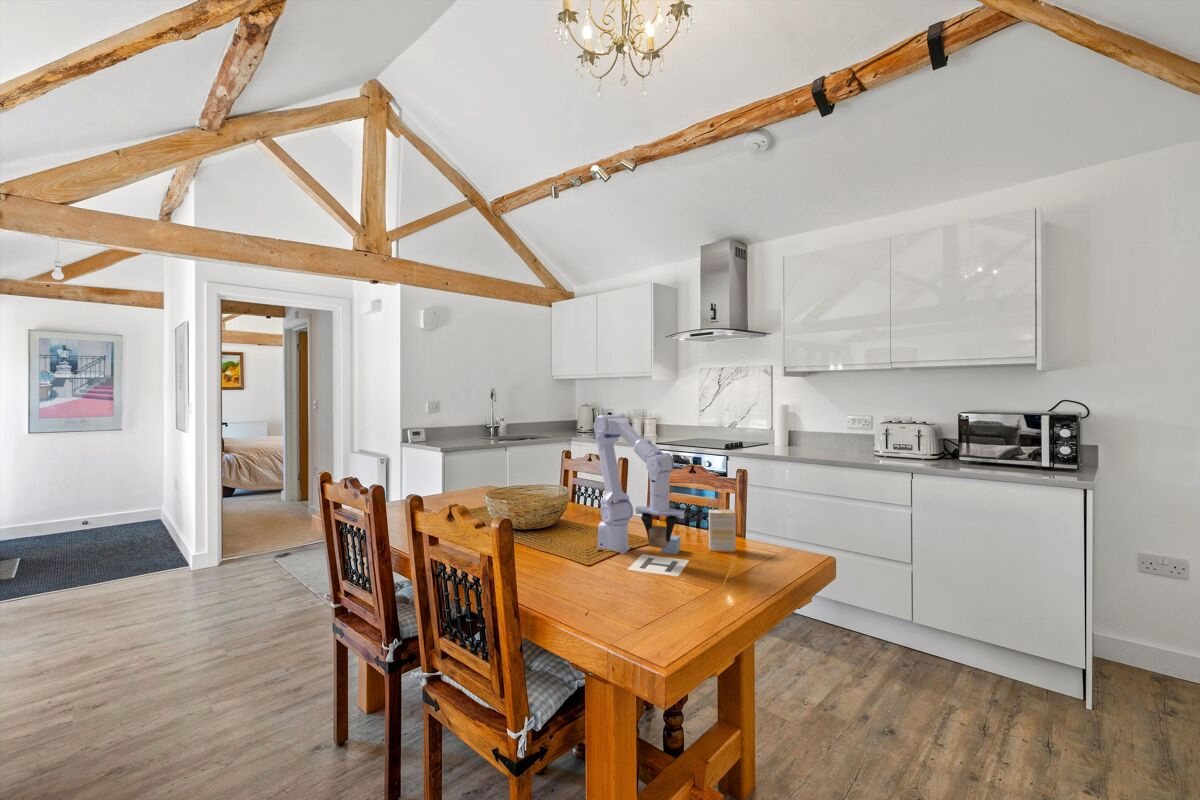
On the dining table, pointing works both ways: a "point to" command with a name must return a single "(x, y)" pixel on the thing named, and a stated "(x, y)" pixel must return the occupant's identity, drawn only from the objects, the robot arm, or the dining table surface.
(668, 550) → the slate blue cube
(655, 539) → the walnut block
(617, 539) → the robot arm
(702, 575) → the dining table surface
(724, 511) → the supplement box
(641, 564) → the letter board
